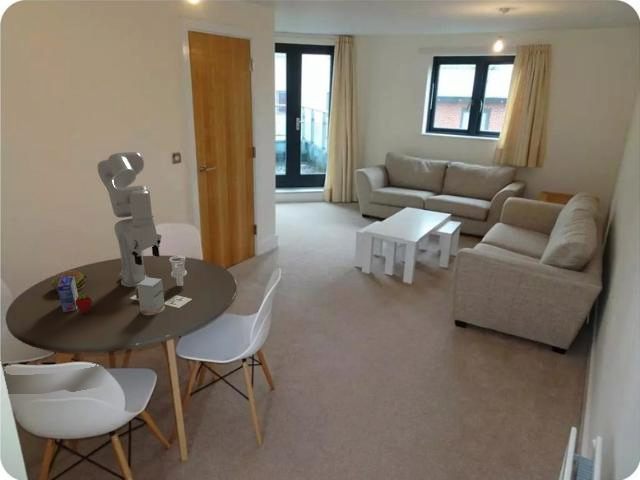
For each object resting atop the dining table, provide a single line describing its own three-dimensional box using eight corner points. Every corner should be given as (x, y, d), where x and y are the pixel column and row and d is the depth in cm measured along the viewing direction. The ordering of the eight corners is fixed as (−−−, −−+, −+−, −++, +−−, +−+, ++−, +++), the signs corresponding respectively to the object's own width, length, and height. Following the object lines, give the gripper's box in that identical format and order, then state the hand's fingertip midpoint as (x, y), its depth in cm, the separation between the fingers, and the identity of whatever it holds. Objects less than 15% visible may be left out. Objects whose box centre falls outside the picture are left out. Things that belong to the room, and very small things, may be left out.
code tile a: (162, 304, 191) (162, 303, 191) (176, 295, 199) (176, 295, 199) (179, 308, 188) (179, 307, 188) (192, 299, 196) (192, 298, 196)
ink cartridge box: (65, 302, 192) (59, 272, 187) (79, 300, 193) (73, 270, 188) (62, 312, 183) (55, 281, 178) (76, 310, 185) (70, 279, 180)
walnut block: (136, 298, 196) (135, 288, 194) (142, 293, 200) (140, 283, 199) (146, 298, 195) (145, 288, 193) (152, 293, 200) (151, 284, 198)
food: (46, 294, 198) (43, 279, 195) (65, 281, 211) (62, 266, 208) (75, 296, 197) (72, 280, 194) (93, 282, 210) (90, 267, 207)
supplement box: (155, 313, 183) (152, 286, 178) (140, 310, 184) (136, 284, 180) (165, 305, 189) (162, 278, 185) (150, 302, 191) (146, 276, 187)
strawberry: (77, 319, 178) (73, 297, 175) (77, 311, 184) (73, 290, 181) (94, 316, 181) (90, 294, 177) (93, 308, 187) (89, 287, 184)
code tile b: (129, 298, 196) (129, 298, 195) (144, 290, 203) (144, 289, 203) (145, 302, 192) (145, 302, 192) (159, 294, 200) (159, 293, 200)
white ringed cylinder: (182, 289, 205) (179, 260, 200) (169, 286, 207) (166, 257, 202) (190, 283, 211) (188, 254, 206) (178, 280, 213) (175, 252, 208)
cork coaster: (135, 312, 184) (134, 311, 184) (151, 302, 193) (151, 301, 193) (153, 317, 181) (153, 316, 180) (170, 306, 189) (169, 305, 189)
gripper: (151, 213, 183) (155, 251, 189) (118, 225, 168) (124, 266, 174) (165, 216, 180) (169, 254, 186) (133, 228, 165) (138, 269, 171)
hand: (147, 260), depth 180 cm, fingers open, 9 cm apart
